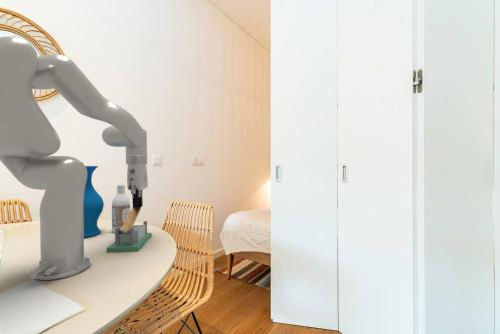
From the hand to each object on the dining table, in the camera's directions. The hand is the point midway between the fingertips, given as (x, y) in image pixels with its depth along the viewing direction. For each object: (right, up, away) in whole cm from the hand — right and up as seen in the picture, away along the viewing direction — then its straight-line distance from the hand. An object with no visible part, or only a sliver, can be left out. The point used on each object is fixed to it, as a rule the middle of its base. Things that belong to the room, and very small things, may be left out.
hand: (137, 207), depth 95 cm
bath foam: (-11, -12, +9) cm, 19 cm away
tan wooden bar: (+1, -4, -6) cm, 8 cm away
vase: (-23, -12, +4) cm, 26 cm away
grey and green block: (+1, -12, -6) cm, 14 cm away
